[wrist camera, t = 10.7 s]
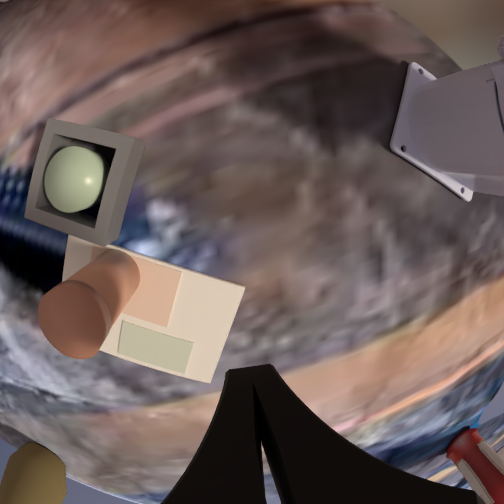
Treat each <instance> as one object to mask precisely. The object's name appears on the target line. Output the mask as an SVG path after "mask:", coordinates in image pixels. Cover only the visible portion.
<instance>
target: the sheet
mask: <svg viewBox="0 0 504 504" xmlns="http://www.w3.org/2000/svg"><path fill="white" fill-rule="evenodd" d="M108 250H120V251H123V252H125V253H127V254H128V255H130V256H131V257H132V258H133V259H134V261H135V262H136V264H137V266H138V268H139V272H140V282H139V286H138V288H137V289H136V291H135V293H134V294H133V295H132V297H131V298H130V300H129V301H128V303H127V304H126V306H125V307H124V309H123V311H122V312H121V314H120V315H119V317H118V318H117V320H116V321H115V323H114V324H113V326H112V328H111V329H110V332H109V334H108V336H107V338H106V339H105V341H104V342H103V344H102V346H101V347H100V349H99V350H101V351H103V352H106V353H109V354H111V355H114V356H117V357H120V358H123V359H126V360H129V361H132V362H135V363H138V364H141V365H144V366H147V367H150V368H154V369H157V370H160V371H164V372H167V373H171V374H174V375H178V376H182V377H186V378H189V379H193V380H197V381H202V382H206V383H210V382H211V379H212V377H213V374H214V371H215V369H216V366H217V363H218V360H219V358H220V355H221V352H222V350H223V347H224V344H225V342H226V339H227V336H228V334H229V331H230V328H231V325H232V323H233V320H234V317H235V315H236V312H237V309H238V306H239V304H240V301H241V298H242V296H243V293H244V290H245V286H243V285H240V284H236V283H233V282H230V281H226V280H223V279H220V278H216V277H213V276H210V275H206V274H203V273H200V272H197V271H193V270H190V269H187V268H184V267H181V266H178V265H174V264H171V263H168V262H165V261H162V260H159V259H156V258H153V257H150V256H146V255H143V254H140V253H137V252H134V251H131V250H128V249H125V248H122V247H119V246H116V245H114V244H111V243H110V244H109V245H107V246H105V247H102V246H99V245H97V244H94V243H91V242H88V241H85V240H83V239H80V238H77V237H74V236H72V235H68V241H67V247H66V254H65V261H64V269H63V278H62V282H63V281H65V280H67V279H68V278H69V277H71V276H72V275H73V274H75V273H76V272H77V271H79V270H80V269H81V268H83V267H84V266H85V265H87V264H88V263H90V262H91V261H92V260H94V259H95V258H97V257H98V256H100V255H101V254H102V253H104V252H106V251H108Z"/></svg>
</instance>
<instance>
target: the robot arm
mask: <svg viewBox="0 0 504 504" xmlns="http://www.w3.org/2000/svg"><path fill="white" fill-rule="evenodd" d="M497 50H498V53H499V55H500V56H501V58H502V59H500V60H499V61H495V62H492V63H488V64H484V65H480V66H477V67H473V68H470V69H467V70H463V71H460V72H457V73H454V74H451V75H448V76H445V77H442V78H439V79H436V78H435V77H434V76H433V75H431V74H430V73H429V72H428V71H426V70H425V69H424V68H422V67H421V66H420V65H418V64H417V63H415V62H412V63H410V64H409V66H408V71H407V76H406V81H405V85H404V90H403V94H402V98H401V103H400V107H399V111H398V115H397V119H396V123H395V126H394V130H393V134H392V137H391V141H390V148H391V150H392V151H393V152H395V153H396V154H398V155H400V156H401V157H403V158H404V159H406V160H408V161H409V162H411V163H412V164H414V165H415V166H417V167H418V168H420V169H421V170H423V171H424V172H426V173H427V174H429V175H430V176H432V177H433V178H435V179H436V180H438V181H439V182H440V183H442V184H443V185H445V186H446V187H447V188H449V189H450V190H451V191H453V192H454V193H455V194H457V195H458V196H459V197H461V198H462V199H463V200H465V201H468V202H469V201H470V200H471V198H472V195H473V192H480V193H487V194H493V195H500V196H504V35H503V36H501V37H500V40H499V46H498V47H497ZM419 71H420V73H421V74H420V73H419ZM401 146H402V147H403V152H402V151H401ZM261 442H262V445H263V448H264V452H265V455H266V458H267V461H268V464H269V467H270V470H271V473H272V476H273V479H274V482H275V485H276V488H277V491H278V494H279V497H280V501H281V504H486V503H485V502H484V500H483V499H482V498H481V497H480V496H479V495H478V494H477V493H476V492H475V491H474V490H468V489H462V488H457V487H452V486H448V485H444V484H440V483H436V482H433V481H430V480H427V479H424V478H421V477H418V476H415V475H412V474H410V473H407V472H405V471H403V470H401V469H398V468H396V467H394V466H392V465H390V464H388V463H385V462H383V461H381V460H379V459H377V458H375V457H374V456H372V455H370V454H368V453H367V452H365V451H363V450H362V449H360V448H358V447H357V446H355V445H354V444H352V443H351V442H349V441H348V440H346V439H345V438H344V437H342V436H341V435H340V434H338V433H337V432H336V431H334V430H333V429H332V428H331V427H329V426H328V425H327V424H326V423H325V422H323V421H322V420H321V419H320V418H319V417H318V416H317V415H315V414H314V413H313V412H312V411H311V410H310V409H309V408H308V407H307V406H306V405H305V404H304V403H303V402H302V401H301V400H300V399H299V398H298V397H297V396H296V394H295V393H294V392H293V391H292V390H291V389H290V388H289V386H288V385H287V384H286V383H285V382H284V380H283V379H282V378H281V376H280V375H279V374H278V372H277V371H276V369H275V367H274V366H273V365H271V364H265V365H259V366H252V367H245V368H237V369H229V370H228V371H227V372H226V375H225V381H224V386H223V390H222V393H221V396H220V400H219V403H218V405H217V408H216V411H215V413H214V416H213V418H212V421H211V423H210V426H209V428H208V430H207V432H206V434H205V436H204V438H203V440H202V442H201V444H200V446H199V448H198V450H197V452H196V454H195V455H194V457H193V459H192V461H191V462H190V464H189V465H188V467H187V469H186V470H185V472H184V473H183V475H182V476H181V478H180V479H179V481H178V482H177V483H176V485H175V486H174V487H173V489H172V490H171V492H170V493H169V494H168V495H167V497H166V498H165V499H164V500H163V502H162V503H161V504H267V503H266V498H265V486H264V474H263V462H262V449H261Z"/></svg>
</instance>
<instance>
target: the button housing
mask: <svg viewBox="0 0 504 504" xmlns="http://www.w3.org/2000/svg"><path fill="white" fill-rule="evenodd" d="M72 138H74V139H78V140H83V141H87V142H91V143H95V144H99V145H103V146H107V147H110V148H114V149H116V152H115V155H114V158H113V162H112V165H111V168H110V171H109V175H108V178H107V182H106V185H105V189H104V193H103V196H102V200H101V204H100V208H99V213H98V217H97V218H96V217H93V216H90V215H87V214H84V213H81V212H78V211H76V212H71V213H67V212H62V211H60V210H58V209H56V208H55V207H54V206H53V205H52V204H51V202H50V201H49V199H48V197H47V195H46V191H45V185H44V180H45V173H46V169H47V167H48V164H49V162H50V161H51V159H52V158H53V157H54V155H55V154H56V153H58V152H59V151H60V150H62V149H64V148H66V147H70V145H71V141H72ZM145 146H146V143H145V142H143V141H141V140H139V139H137V138H135V137H131V136H127V135H123V134H119V133H115V132H111V131H107V130H102V129H98V128H94V127H89V126H85V125H80V124H75V123H71V122H66V121H61V120H56V119H50V118H48V121H47V124H46V127H45V130H44V133H43V136H42V139H41V143H40V146H39V150H38V153H37V157H36V161H35V165H34V169H33V173H32V178H31V182H30V187H29V192H28V197H27V203H26V209H25V215H24V218H27V219H29V220H32V221H34V222H37V223H39V224H42V225H45V226H47V227H50V228H53V229H55V230H58V231H61V232H63V233H66V234H69V235H72V236H74V237H77V238H80V239H83V240H85V241H88V242H91V243H94V244H97V245H99V246H102V247H105V246H107V245H109V244H110V243H112V242H113V241H115V240H116V239H118V238H119V234H120V230H121V226H122V222H123V218H124V214H125V210H126V207H127V203H128V199H129V196H130V192H131V189H132V186H133V182H134V179H135V176H136V173H137V169H138V166H139V163H140V160H141V157H142V154H143V151H144V148H145Z"/></svg>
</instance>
